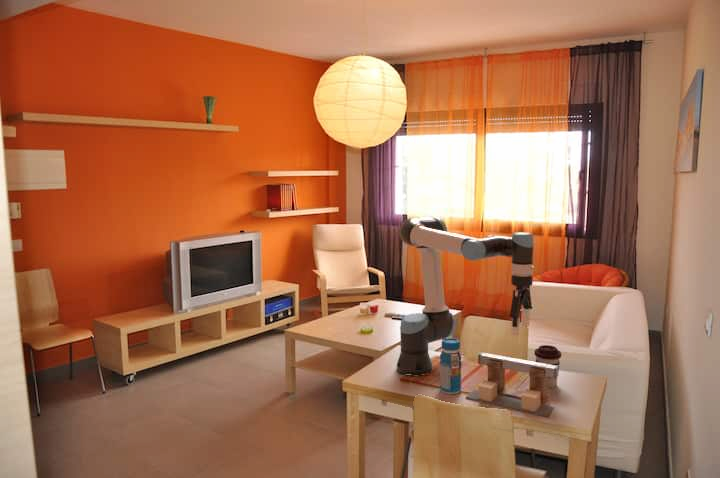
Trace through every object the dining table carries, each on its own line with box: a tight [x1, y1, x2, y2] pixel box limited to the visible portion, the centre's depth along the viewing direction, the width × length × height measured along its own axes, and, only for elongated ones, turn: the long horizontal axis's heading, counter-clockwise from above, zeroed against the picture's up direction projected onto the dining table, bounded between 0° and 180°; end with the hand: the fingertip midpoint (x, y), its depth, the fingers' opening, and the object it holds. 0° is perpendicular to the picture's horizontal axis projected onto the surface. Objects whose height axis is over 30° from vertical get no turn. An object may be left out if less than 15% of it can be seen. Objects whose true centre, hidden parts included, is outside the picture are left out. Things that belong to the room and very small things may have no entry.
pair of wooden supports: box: [486, 360, 549, 405], centre depth 208 cm, size 22×6×12 cm, turn 57°
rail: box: [477, 351, 560, 379], centre depth 207 cm, size 29×4×4 cm, turn 57°
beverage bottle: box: [438, 337, 463, 395], centre depth 212 cm, size 8×8×20 cm
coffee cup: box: [534, 344, 562, 389], centre depth 217 cm, size 10×10×15 cm
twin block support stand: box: [465, 379, 555, 418], centre depth 201 cm, size 30×8×6 cm, turn 57°
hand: (520, 330), depth 207 cm, fingers open, 13 cm apart
